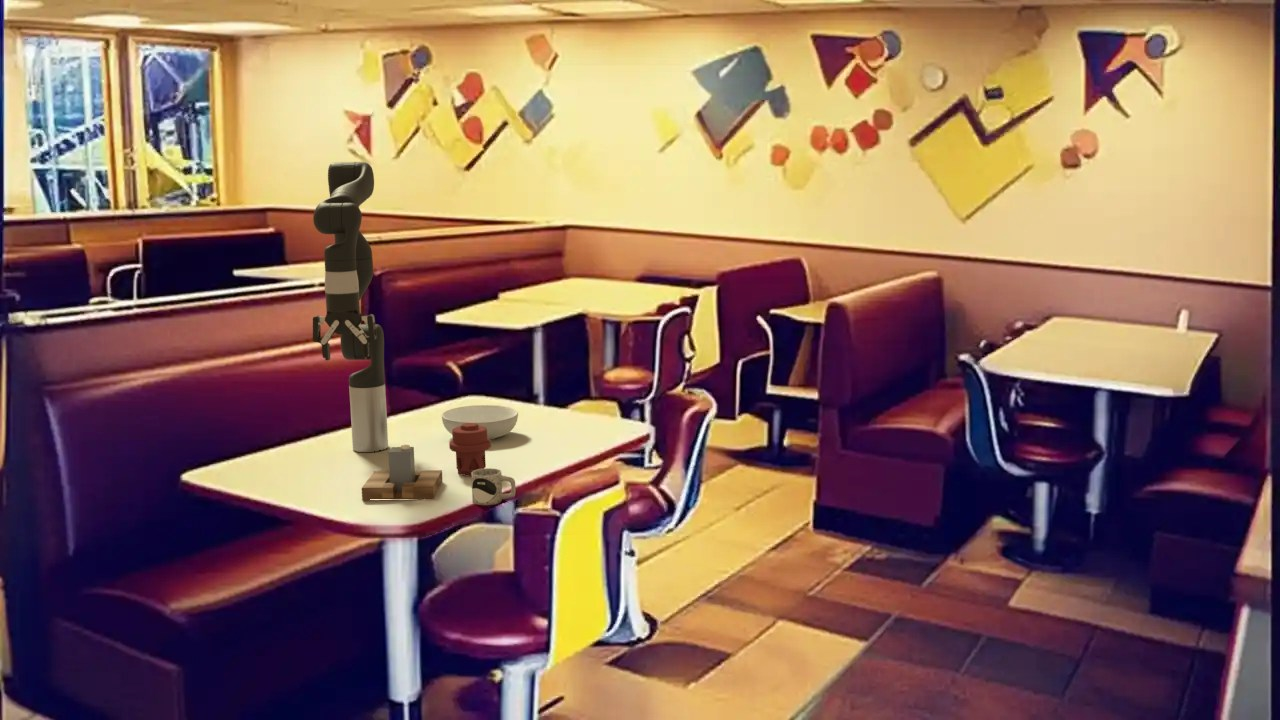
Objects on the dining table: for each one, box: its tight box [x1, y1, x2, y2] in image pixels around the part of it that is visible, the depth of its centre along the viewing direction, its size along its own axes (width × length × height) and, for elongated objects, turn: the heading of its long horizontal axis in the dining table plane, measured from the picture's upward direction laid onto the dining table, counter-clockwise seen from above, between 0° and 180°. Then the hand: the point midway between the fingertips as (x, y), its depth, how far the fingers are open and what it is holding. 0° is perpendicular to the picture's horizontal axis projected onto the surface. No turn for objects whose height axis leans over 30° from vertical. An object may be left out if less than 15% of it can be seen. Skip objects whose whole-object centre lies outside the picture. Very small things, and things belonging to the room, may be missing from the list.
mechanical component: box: [448, 423, 492, 478], centre depth 284 cm, size 12×10×10 cm
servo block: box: [387, 444, 416, 492], centre depth 270 cm, size 4×5×10 cm
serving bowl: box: [441, 404, 519, 440], centre depth 322 cm, size 21×21×7 cm
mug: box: [471, 467, 517, 506], centre depth 262 cm, size 10×7×7 cm, turn 80°
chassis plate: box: [361, 469, 443, 501], centre depth 271 cm, size 14×16×3 cm
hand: (346, 359), depth 273 cm, fingers open, 8 cm apart
